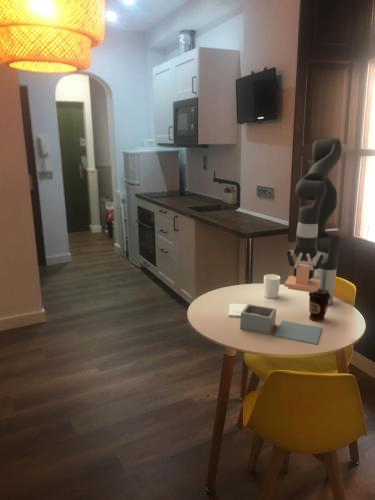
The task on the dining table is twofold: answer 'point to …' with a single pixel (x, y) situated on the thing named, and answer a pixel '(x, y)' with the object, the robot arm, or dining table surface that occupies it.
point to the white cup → (271, 285)
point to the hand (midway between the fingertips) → (303, 277)
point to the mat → (298, 332)
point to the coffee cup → (318, 304)
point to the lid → (302, 280)
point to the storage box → (258, 319)
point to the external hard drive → (236, 310)
